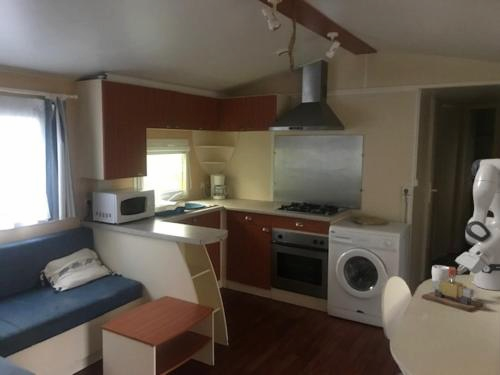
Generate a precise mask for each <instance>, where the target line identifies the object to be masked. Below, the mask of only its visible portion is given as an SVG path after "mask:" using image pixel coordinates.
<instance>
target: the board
mask: <svg viewBox="0 0 500 375" xmlns="http://www.w3.org/2000/svg"><path fill="white" fill-rule="evenodd" d="M421 299H423V300H426V301H429V302H433V303H437V304H440V305H443V306H448V307H451V308H454V309H458V310H461V311H465V312H467V313H471V312H473V311H475V310H477V309H479V308H481V307H483V306H484V303H483V302H481V301H476V300H472V299H471V304H469V305H464V304H461V303H460V300H461V297H457V298H455V297H452V296H448V295H445V297H442V298H439V297H435V290H434V291H432V292H428V293H426V294H422V295H421Z"/></svg>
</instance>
